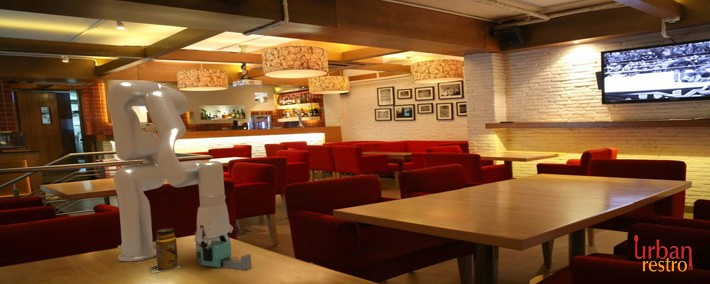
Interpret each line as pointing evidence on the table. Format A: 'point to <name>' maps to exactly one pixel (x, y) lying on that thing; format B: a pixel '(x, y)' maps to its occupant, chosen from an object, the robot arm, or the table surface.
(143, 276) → the table surface
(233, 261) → the rail
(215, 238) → the frame
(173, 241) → the condiment
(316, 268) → the table surface
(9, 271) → the table surface
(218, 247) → the carriage
